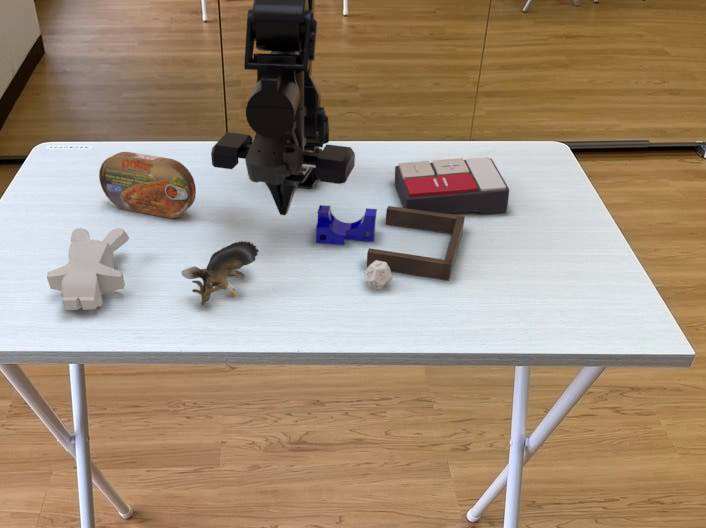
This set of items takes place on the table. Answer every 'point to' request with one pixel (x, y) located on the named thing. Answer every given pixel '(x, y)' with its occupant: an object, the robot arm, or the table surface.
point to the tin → (147, 184)
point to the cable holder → (344, 227)
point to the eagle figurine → (222, 269)
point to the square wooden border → (414, 262)
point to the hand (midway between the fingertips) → (283, 213)
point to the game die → (378, 274)
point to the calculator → (452, 186)
